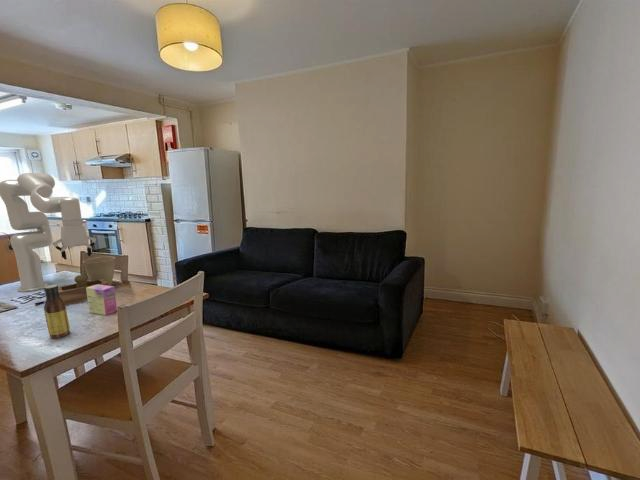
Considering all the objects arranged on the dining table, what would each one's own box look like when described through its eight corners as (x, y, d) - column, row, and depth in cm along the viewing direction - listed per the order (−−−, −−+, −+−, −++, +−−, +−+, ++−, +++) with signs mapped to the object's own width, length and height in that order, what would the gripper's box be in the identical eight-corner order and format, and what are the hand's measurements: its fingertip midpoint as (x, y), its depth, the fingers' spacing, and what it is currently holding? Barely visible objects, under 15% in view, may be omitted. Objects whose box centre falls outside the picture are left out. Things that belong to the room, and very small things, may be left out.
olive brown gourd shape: (82, 298, 157) (79, 277, 155) (73, 298, 158) (69, 276, 157) (93, 294, 163) (90, 274, 161) (84, 293, 164) (81, 273, 162)
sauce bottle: (57, 331, 124) (49, 283, 121) (74, 331, 125) (66, 282, 121) (44, 339, 118) (35, 288, 114) (62, 339, 118) (54, 288, 115)
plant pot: (106, 281, 188) (103, 255, 186) (124, 284, 183) (121, 257, 180) (80, 289, 175) (76, 261, 172) (98, 292, 169) (94, 263, 167)
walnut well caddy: (57, 300, 158) (55, 287, 157) (104, 290, 172) (102, 278, 171) (60, 306, 150) (58, 292, 148) (109, 296, 164) (108, 283, 162)
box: (117, 310, 144) (114, 285, 142) (105, 315, 139) (102, 290, 137) (101, 308, 148) (98, 283, 146) (89, 312, 142) (85, 287, 140)
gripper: (92, 221, 163) (96, 253, 166) (48, 224, 151) (54, 259, 154) (95, 222, 157) (99, 255, 161) (50, 225, 145) (56, 261, 149)
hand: (77, 257), depth 157 cm, fingers open, 9 cm apart
